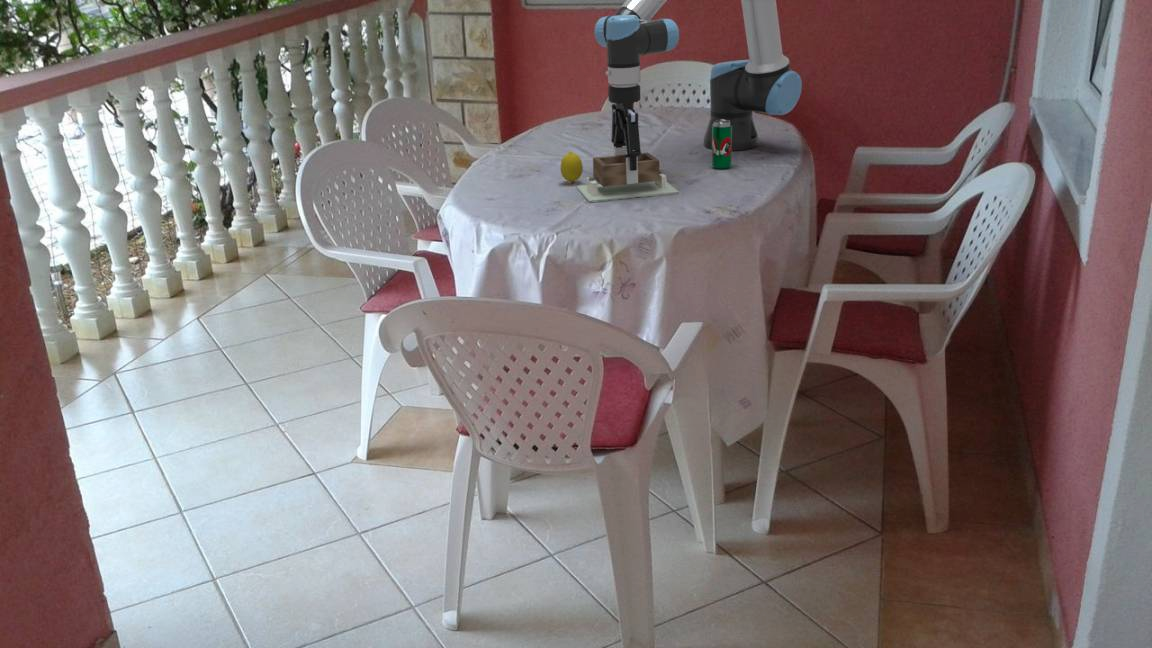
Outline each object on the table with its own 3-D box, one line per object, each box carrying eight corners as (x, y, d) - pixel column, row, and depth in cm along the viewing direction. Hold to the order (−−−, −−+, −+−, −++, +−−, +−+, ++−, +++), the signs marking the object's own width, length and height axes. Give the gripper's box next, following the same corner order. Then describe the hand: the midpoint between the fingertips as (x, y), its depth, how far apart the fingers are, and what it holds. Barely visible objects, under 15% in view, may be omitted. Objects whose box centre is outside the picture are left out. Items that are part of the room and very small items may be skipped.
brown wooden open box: (648, 172, 255) (647, 152, 253) (659, 180, 247) (659, 160, 245) (593, 177, 252) (592, 157, 250) (603, 186, 244) (602, 166, 242)
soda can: (733, 165, 269) (734, 119, 264) (728, 170, 265) (728, 123, 260) (715, 164, 271) (715, 118, 266) (709, 169, 267) (709, 122, 262)
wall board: (661, 179, 259) (661, 162, 258) (678, 193, 246) (678, 176, 245) (576, 188, 255) (575, 171, 254) (589, 202, 243) (588, 185, 241)
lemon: (567, 187, 256) (566, 155, 253) (557, 182, 261) (556, 151, 258) (587, 183, 259) (585, 152, 255) (576, 179, 263) (575, 148, 260)
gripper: (596, 78, 250) (599, 169, 259) (621, 93, 230) (624, 191, 239) (626, 76, 252) (628, 166, 260) (653, 90, 232) (655, 187, 241)
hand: (626, 178), depth 250 cm, fingers closed on brown wooden open box, 9 cm apart
